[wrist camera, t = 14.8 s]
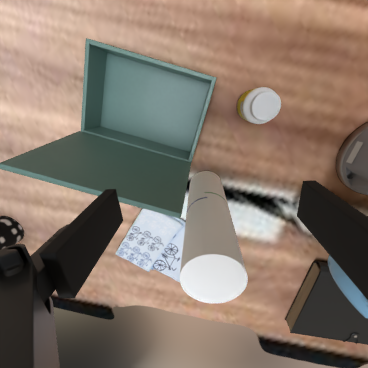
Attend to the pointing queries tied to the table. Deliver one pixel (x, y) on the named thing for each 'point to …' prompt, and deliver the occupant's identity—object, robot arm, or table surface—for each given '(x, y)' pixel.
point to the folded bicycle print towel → (155, 243)
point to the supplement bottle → (258, 105)
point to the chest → (143, 101)
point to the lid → (108, 171)
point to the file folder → (326, 309)
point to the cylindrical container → (210, 244)
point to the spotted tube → (9, 232)
